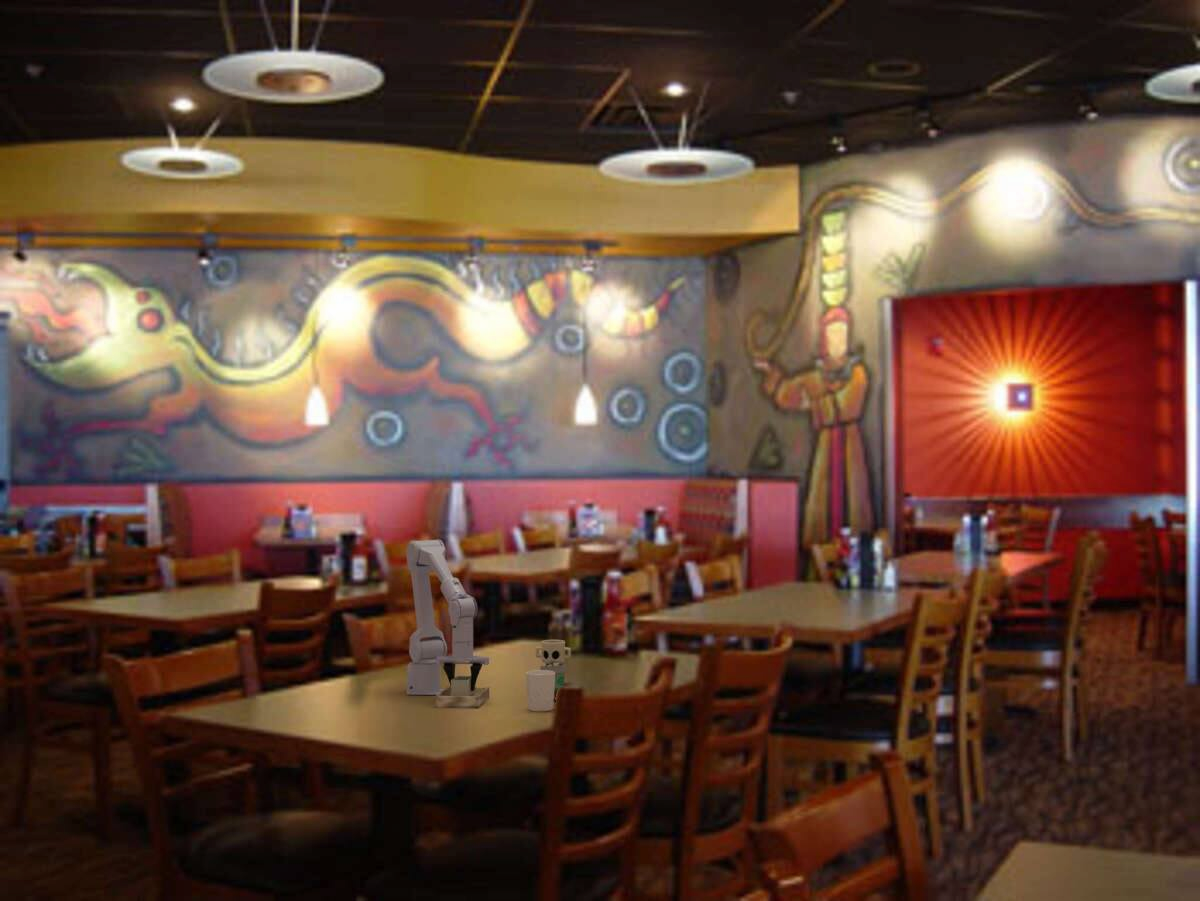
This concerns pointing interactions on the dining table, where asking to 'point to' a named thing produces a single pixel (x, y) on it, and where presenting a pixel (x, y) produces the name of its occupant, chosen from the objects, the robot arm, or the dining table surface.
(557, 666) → the food container
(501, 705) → the dining table surface
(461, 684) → the small crate
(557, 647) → the character mug
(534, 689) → the white cup
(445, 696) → the big crate
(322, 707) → the dining table surface
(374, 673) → the dining table surface
